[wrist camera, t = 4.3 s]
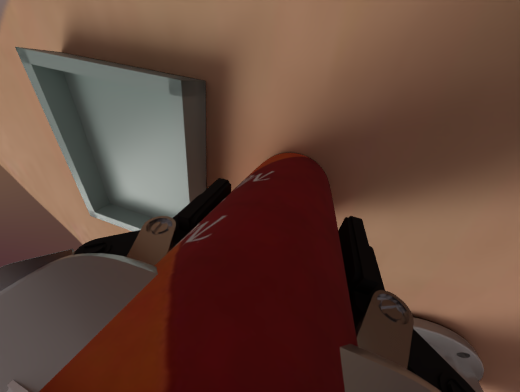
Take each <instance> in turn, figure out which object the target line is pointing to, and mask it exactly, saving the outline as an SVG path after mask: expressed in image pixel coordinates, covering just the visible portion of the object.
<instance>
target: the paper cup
mask: <svg viewBox="0 0 520 392" xmlns="http://www.w3.org/2000/svg"><path fill="white" fill-rule="evenodd" d="M155 267H157V272H158V274H157V275H156V276H155V277H154V278H153V279H152V280H151V281H150V282H149V283H148V284H147V285H146V286H145V287H144V288H143V289H142V290H141V291H140V292H139V293H138V294H137V295H136V296H135V297H134V298H133V299H132V300H131V301H130V302H129V303H128V304H127V305H126V306H125V307H124V308H123V309H122V310H121V311H120V312H119V313H118V314H117V315H116V316H115V317H114V318H113V319H112V320H111V321H110V322H109V323H108V324H107V325H106V326H105V327H104V328H103V329H102V330H101V331H100V332H99V333H98V334H97V335H96V336H95V337H94V338H93V339H92V340H91V341H90V342H89V343H88V344H87V345H86V346H85V347H84V348H83V349H82V350H81V351H80V352H79V353H78V354H77V355H76V356H75V357H74V358H73V359H72V360H71V361H70V362H69V363H68V364H67V365H65V366H64V367H63V368H62V369H61V370H60V371H59V372H58V373H57V374H56V375H55V376H54V377H53V378H52V379H51V380H50V381H49V382H48V383H47V384H46V385H45V386H44V387H43V388H42V389H41V390H40V391H39V392H345V387H344V379H343V371H342V363H341V355H340V347H341V346H344V345H348V344H353V345H355V346H357V347H358V343H357V337H356V332H355V326H354V320H353V314H352V308H351V302H350V297H349V291H348V285H347V279H346V273H345V267H344V262H343V256H342V250H341V244H340V239H339V233H338V227H337V222H336V216H335V210H334V205H333V200H332V194H331V190H330V185H329V182H328V179H327V176H326V174H325V172H324V171H323V169H322V168H321V167H320V166H319V165H318V164H317V163H316V162H315V161H314V160H312V159H311V158H309V157H307V156H304V155H301V154H297V153H282V154H278V155H275V156H273V157H271V158H269V159H267V160H266V161H265V162H263V163H262V164H261V165H260V166H259V167H258V168H256V169H255V170H254V171H253V172H252V173H251V174H250V175H249V176H248V177H247V178H246V179H245V180H244V181H242V182H241V183H240V184H239V185H238V186H237V187H236V188H235V189H234V190H233V191H232V192H231V193H230V194H229V195H228V196H227V197H226V198H225V199H224V200H223V201H221V202H220V203H219V204H218V205H217V206H216V207H215V208H214V209H213V210H212V211H211V212H210V213H209V214H208V215H207V216H206V217H205V218H204V219H203V220H202V221H201V222H200V223H199V224H197V225H196V226H195V227H194V228H193V229H192V230H191V231H190V232H189V233H188V234H187V235H186V236H185V237H184V238H183V239H182V240H181V241H180V242H179V243H178V244H177V245H176V246H175V247H174V248H173V249H171V250H170V251H169V252H168V253H167V254H166V255H165V256H164V257H163V258H162V259H161V260H160V261H159V262H158V263H157V264H156V265H155ZM7 386H8V387H9V388H8V391H7V392H29V391H27V390H26V389H24V388H23V387H22V386H20V385H19V384H18V383H17V382H15V381H14V380H12V381H11V382H10V383H9V384H8V385H7Z"/></svg>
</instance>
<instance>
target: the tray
mask: <svg viewBox="0 0 520 392" xmlns="http://www.w3.org/2000/svg"><path fill="white" fill-rule="evenodd" d="M15 48H16V50H17V52H18V54H19V57H20V59H21V61H22V63H23V66H24V68H25V70H26V72H27V75H28V77H29V79H30V81H31V84H32V86H33V88H34V90H35V93H36V95H37V97H38V99H39V101H40V104H41V106H42V108H43V110H44V113H45V115H46V117H47V119H48V122H49V124H50V126H51V128H52V131H53V133H54V135H55V137H56V140H57V142H58V144H59V146H60V148H61V151H62V153H63V155H64V157H65V160H66V162H67V164H68V166H69V169H70V171H71V173H72V175H73V178H74V180H75V182H76V184H77V186H78V189H79V191H80V193H81V195H82V198H83V200H84V202H85V204H86V207H87V209H88V211H89V213H90V216H92V217H95V218H98V219H101V220H103V221H106V222H109V223H111V224H114V225H117V226H120V227H122V228H125V229H128V230H130V231H138V230H141V228H142V226H143V225H144V223H145V222H147V221H148V220H149V219H152V218H154V217H158V216H168V217H171V218H173V217H174V216H175V215H177V214H178V213H179V212H180V211H181V210H182V209H183V208H185V207H186V206H187V205H188V204H189V203H190V202H191V201H192V200H194V199H195V198H196V197H197V196H198V195H200V194H202V193H203V192H204V191H205V190H206V81H204V80H199V79H194V78H188V77H183V76H178V75H173V74H168V73H163V72H158V71H153V70H148V69H143V68H138V67H133V66H128V65H123V64H118V63H113V62H108V61H102V60H97V59H92V58H87V57H82V56H77V55H72V54H67V53H62V52H54V51H46V50H37V49H29V48H20V47H15Z"/></svg>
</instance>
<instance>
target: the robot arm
mask: <svg viewBox="0 0 520 392" xmlns="http://www.w3.org/2000/svg"><path fill="white" fill-rule="evenodd" d="M230 193H231V184H230V183H229V181H228V180H225V179H221V178H219V179H218V180H216V181H215V182H214V183H213V184H212V185H211V186H210V187H209V188H207V189H206V190H205V191H204V192H203V193H202V194H200V195H198V196H197V197H196V198H195V199H194V200H192V201H191V202H190V203H189V204H188V205H187V206H186V207H185V208H183V209H182V210H181V211H180V212H179V213H178V214H177V215H175V216H174V217H173V218H171V217H168V216H158V217H154V218H152V219H149V220H148V221H147V222H145V223H144V225H143V226H142V228H141V230H138V231H133V232H128V233H123V234H118V235H113V236H108V237H103V238H98V239H95V240H91V241H89V242H87V243H85V244H83V245H82V246H80V247H79V248H78V249H77V250H76V251H74V250H73V249H70V250H66V251H61V252H57V253H53V254H48V255H44V256H40V257H36V258H32V259H28V260H23V261H19V262H15V263H11V264H8V265H5V266H3V267H1V268H0V392H7V391H8V388H9V387H8V386H7V385H8V384H9V383H10V382H11V381H12V380H14V381H15V382H17V383H18V384H19V385H20V386H22V387H23V388H24V389H26V390H27V391H29V392H39V391H40V390H41V389H42V388H43V387H44V386H45V385H46V384H47V383H48V382H49V381H50V380H51V379H52V378H53V377H54V376H55V375H56V374H57V373H58V372H59V371H60V370H61V369H62V368H63V367H64V366H65V365H67V364H68V363H69V362H70V361H71V360H72V359H73V358H74V357H75V356H76V355H77V354H78V353H79V352H80V351H81V350H82V349H83V348H84V347H85V346H86V345H87V344H88V343H89V342H90V341H91V340H92V339H93V338H94V337H95V336H96V335H97V334H98V333H99V332H100V331H101V330H102V329H103V328H104V327H105V326H106V325H107V324H108V323H109V322H110V321H111V320H112V319H113V318H114V317H115V316H116V315H117V314H118V313H119V312H120V311H121V310H122V309H123V308H124V307H125V306H126V305H127V304H128V303H129V302H130V301H131V300H132V299H133V298H134V297H135V296H136V295H137V294H138V293H139V292H140V291H141V290H142V289H143V288H144V287H145V286H146V285H147V284H148V283H149V282H150V281H151V280H152V279H153V278H154V277H155V276H156V275H157V274H158V272H157V267H155V265H156V264H157V263H158V262H159V261H160V260H161V259H162V258H163V257H164V256H165V255H166V254H167V253H168V252H169V251H170V250H171V249H173V248H174V247H175V246H176V245H177V244H178V243H179V242H180V241H181V240H182V239H183V238H184V237H185V236H186V235H187V234H188V233H189V232H190V231H191V230H192V229H193V228H194V227H195V226H196V225H197V224H199V223H200V222H201V221H202V220H203V219H204V218H205V217H206V216H207V215H208V214H209V213H210V212H211V211H212V210H213V209H214V208H215V207H216V206H217V205H218V204H219V203H220V202H221V201H223V200H224V199H225V198H226V197H227V196H228V195H229V194H230ZM338 233H339V239H340V244H341V250H342V256H343V262H344V267H345V273H346V279H347V285H348V291H349V297H350V302H351V308H352V314H353V320H354V326H355V332H356V337H357V343H358V347H357V346H355V345H353V344H348V345H344V346H341V347H340V355H341V363H342V371H343V379H344V387H345V392H484V391H483V390H482V388H481V386H480V384H479V380H480V379H481V378H482V377H483V373H484V367H483V364H482V361H481V360H480V358H479V356H478V355H477V353H476V351H475V349H474V348H473V347H472V346H471V345H470V344H469V343H468V341H467V340H465V339H464V338H462V337H461V336H459V335H458V334H457V333H455V332H453V331H451V330H449V329H447V328H445V327H443V326H441V325H438V324H435V323H432V322H430V321H427V320H423V319H419V318H415V317H413V315H412V313H411V311H410V309H409V308H408V306H407V305H406V304H405V303H404V302H403V301H402V300H401V299H400V298H398V297H397V296H396V295H394V294H392V293H391V292H388V291H385V289H384V285H383V282H382V278H381V275H380V271H379V268H378V264H377V261H376V257H375V254H374V250H373V248H372V247H371V246H369V244H368V240H367V236H366V232H365V229H364V225H363V221H362V219H360V218H356V217H353V216H350V217H349V218H347V217H346V218H345V219H344V221H343V223H342V225H341V227H340V229H339V231H338Z"/></svg>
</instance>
